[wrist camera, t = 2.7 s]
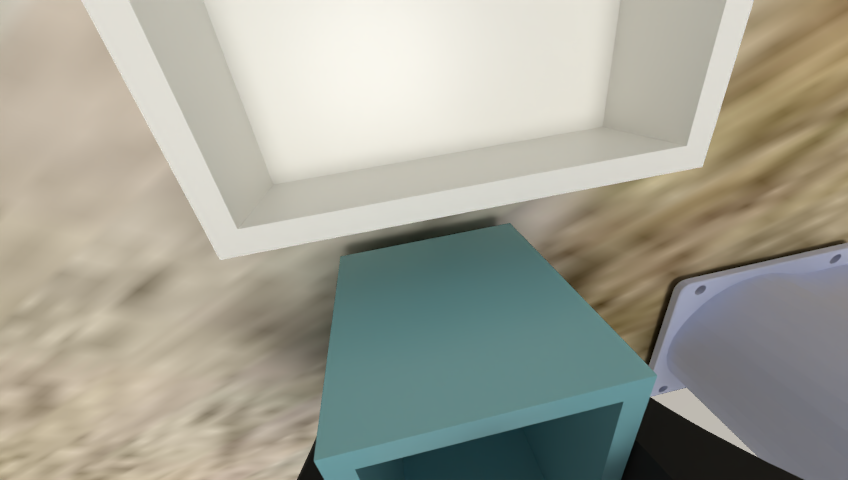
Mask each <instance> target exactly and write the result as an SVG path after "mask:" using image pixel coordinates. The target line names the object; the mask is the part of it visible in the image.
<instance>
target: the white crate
mask: <svg viewBox="0 0 848 480" xmlns="http://www.w3.org/2000/svg"><path fill="white" fill-rule="evenodd" d="M81 1H82V2H83V4H84V6H85V8H86V10H87V12H88V14H89V16H90V17H91V19H92V21H93V23H94V25H95V27H96V29H97V31H98V32H99V34H100V36H101V38H102V40H103V42H104V44H105V46H106V47H107V49H108V51H109V53H110V55H111V57H112V59H113V61H114V62H115V64H116V66H117V68H118V70H119V72H120V74H121V76H122V77H123V79H124V81H125V83H126V85H127V87H128V89H129V91H130V92H131V94H132V96H133V98H134V100H135V102H136V104H137V106H138V107H139V109H140V111H141V113H142V115H143V117H144V119H145V121H146V122H147V124H148V126H149V128H150V130H151V132H152V134H153V135H154V137H155V139H156V141H157V143H158V145H159V147H160V149H161V150H162V152H163V154H164V156H165V158H166V160H167V162H168V164H169V165H170V167H171V169H172V171H173V173H174V175H175V177H176V179H177V180H178V182H179V184H180V186H181V188H182V190H183V192H184V194H185V195H186V197H187V199H188V201H189V203H190V205H191V207H192V209H193V210H194V212H195V214H196V216H197V218H198V220H199V222H200V224H201V225H202V227H203V229H204V231H205V233H206V235H207V237H208V239H209V240H210V242H211V244H212V246H213V248H214V250H215V252H216V254H217V255H218V257H219V259H220V260H223V259H228V258H233V257H238V256H243V255H249V254H254V253H259V252H264V251H269V250H275V249H280V248H285V247H290V246H295V245H300V244H306V243H311V242H316V241H321V240H326V239H331V238H337V237H342V236H347V235H352V234H357V233H363V232H368V231H373V230H378V229H383V228H388V227H394V226H399V225H404V224H409V223H414V222H419V221H425V220H430V219H435V218H440V217H445V216H451V215H456V214H461V213H466V212H471V211H476V210H482V209H487V208H492V207H497V206H502V205H507V204H513V203H518V202H523V201H528V200H533V199H539V198H544V197H549V196H554V195H559V194H564V193H570V192H575V191H580V190H585V189H590V188H595V187H601V186H606V185H611V184H616V183H621V182H627V181H632V180H637V179H642V178H647V177H652V176H658V175H663V174H668V173H673V172H678V171H683V170H689V169H694V168H699V167H703V164H704V160H705V157H706V154H707V151H708V147H709V144H710V141H711V138H712V134H713V131H714V128H715V125H716V121H717V118H718V115H719V112H720V108H721V105H722V102H723V99H724V96H725V92H726V89H727V86H728V83H729V79H730V76H731V73H732V70H733V66H734V63H735V60H736V57H737V53H738V50H739V47H740V44H741V40H742V37H743V34H744V31H745V27H746V24H747V21H748V18H749V14H750V11H751V8H752V5H753V1H754V0H81Z"/></svg>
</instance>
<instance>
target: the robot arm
mask: <svg viewBox="0 0 848 480" xmlns="http://www.w3.org/2000/svg"><path fill="white" fill-rule="evenodd" d="M649 367H650V368H651V369H652V370H653V371H654V372H655V373H656V374H657V378H656V381H655V384H654V387H653V390H652V392H651V395H650V396H656V395H659V394H663V393H667V392H670V391H675V390H678V389H683V388H686V387H687V388H688V389H689V390H690V391H691V392H692V393H693V394H694V395H695V396H696V397H697V398H698V399H699V400H700V401H701V402H702V403H703V404H704V405H705V406H706V407H707V408H708V409H710V411H711V412H712V413H713V414H715V415H716V416H717V417H718V418H719V419H720V420H721V421H722V422H723V423H724V424H725V425H726V426H727V427H728V428H729V429H730V430H731V431H732V432H733V433H734V434H735V435H736V436H737V437H738V438H739V439H740V440H741V441H742V442H743V443H744V444H745V445H746V446H747V447H749V449H750V450H751V451H753V452H754V453H755V454H756V455H757V456H758V457H759V458H758V457H756V456H754V455H752V454H750V453H748V452H746V451H744V450H743V449H740V448H739V447H737V446H735V445H733V444H731V443H729V442H727V441H725V440H724V439H722V438H720V437H718V436H716V435H714V434H712V433H710V432H708V431H706V430H705V429H703V428H701V427H699V426H697V425H695V424H694V423H692V422H690V421H689V420H687V419H685V418H683V417H682V416H680V415H678V414H677V413H675V412H673V411H672V410H670V409H668V408H667V407H665V406H663V405H662V404H660V403H659V402H657V401H655V400H654V399H652V398H651V397H650V398H649V401H648V404H647V407H646V409H645V412H644V415H643V418H642V421H641V424H640V427H639V429H638V432H637V435H636V438H635V441H634V444H633V447H632V449H631V452H630V455H629V458H628V461H627V464H626V466H625V469H624V472H623V475H622V478H621V480H848V243H844V244H839V245H835V246H830V247H826V248H822V249H817V250H813V251H808V252H804V253H799V254H795V255H791V256H786V257H782V258H777V259H773V260H768V261H764V262H760V263H755V264H751V265H746V266H742V267H737V268H733V269H729V270H724V271H720V272H715V273H711V274H706V275H702V276H698V277H693V278H689V279H685V280H682V281H680V282H679V283H678V284H677V285H676V286H675V288H674V290H673V293H672V296H671V299H670V302H669V305H668V308H667V311H666V314H665V317H664V320H663V324H662V327H661V330H660V333H659V336H658V339H657V342H656V345H655V348H654V351H653V354H652V357H651V360H650V363H649ZM316 439H317V437H316ZM316 439H315V442H314V444H313V446H312V448H311V450H310V453H309V455H308V457H307V459H306V461H305V463H304V466H303V468H302V470H301V472H300V474H299V476H298V478H297V480H324V478H323V476H322V475H321V473H320V471H319V469H318V468H317V466H316V464H315V462H314V454H315V447H316Z"/></svg>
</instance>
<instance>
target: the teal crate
mask: <svg viewBox="0 0 848 480" xmlns="http://www.w3.org/2000/svg"><path fill="white" fill-rule="evenodd" d="M656 378H657V374H656V373H655V372H654V371H653V370H652V369H651V368H650V367H649V366H648V365H647V364H646V363H645V362H644V361H643V360H642V359H641V358H640V357H639V356H638V355H637V354H636V353H635V352H634V351H633V350H632V349H631V348H630V346H629V345H628V344H627V343H626V342H625V341H624V340H623V339H622V338H621V337H620V336H619V335H618V334H617V333H616V332H615V331H614V330H613V329H612V328H611V327H610V326H609V325H608V324H607V323H606V322H605V321H604V320H603V319H602V318H601V317H600V316H599V314H598V313H597V312H596V311H595V310H594V309H593V308H592V307H591V306H590V305H589V304H588V303H587V302H586V301H585V300H584V299H583V298H582V297H581V296H580V295H579V294H578V293H577V292H576V291H575V290H574V289H573V288H572V287H571V286H570V285H569V284H568V282H567V281H566V280H565V279H564V278H563V277H562V276H561V275H560V274H559V273H558V272H557V271H556V270H555V269H554V268H553V267H552V266H551V265H550V264H549V263H548V262H547V261H546V260H545V259H544V258H543V257H542V256H541V255H540V254H539V253H538V252H537V251H536V249H535V248H534V247H533V246H532V245H531V244H530V243H529V242H528V241H527V240H526V239H525V238H524V237H523V236H522V235H521V234H520V233H519V232H518V231H517V230H516V229H515V228H514V227H513V226H512V225H511V224H510V223H508V224H503V225H498V226H493V227H488V228H483V229H478V230H473V231H468V232H462V233H457V234H452V235H447V236H442V237H437V238H432V239H427V240H422V241H417V242H412V243H407V244H402V245H396V246H391V247H386V248H381V249H376V250H371V251H366V252H361V253H356V254H351V255H346V256H341V257H340V265H339V272H338V280H337V288H336V295H335V303H334V310H333V318H332V325H331V333H330V341H329V348H328V356H327V363H326V371H325V378H324V386H323V394H322V401H321V409H320V416H319V424H318V431H317V439H316V447H315V454H314V462H315V464H316V466H317V468H318V469H319V471H320V473H321V475H322V476H323V478H324V480H621V478H622V475H623V472H624V469H625V466H626V464H627V461H628V458H629V455H630V452H631V449H632V447H633V444H634V441H635V438H636V435H637V432H638V429H639V427H640V424H641V421H642V418H643V415H644V412H645V409H646V407H647V404H648V401H649V398H650V395H651V392H652V390H653V387H654V384H655V381H656Z"/></svg>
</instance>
